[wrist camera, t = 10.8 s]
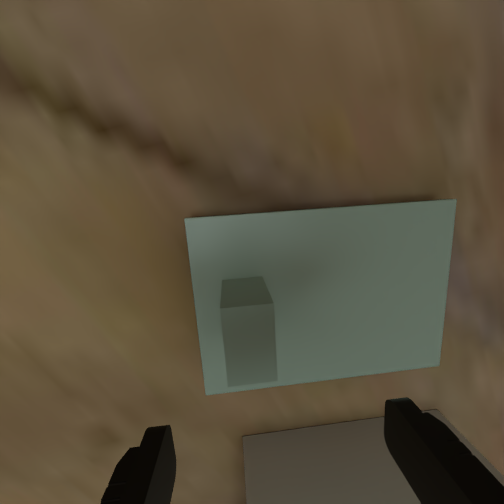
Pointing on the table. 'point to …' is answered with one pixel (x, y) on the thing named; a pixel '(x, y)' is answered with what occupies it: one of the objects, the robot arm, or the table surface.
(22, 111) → the table surface
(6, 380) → the table surface
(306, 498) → the parts tub
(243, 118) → the table surface
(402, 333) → the lid
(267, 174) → the table surface
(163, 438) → the robot arm
